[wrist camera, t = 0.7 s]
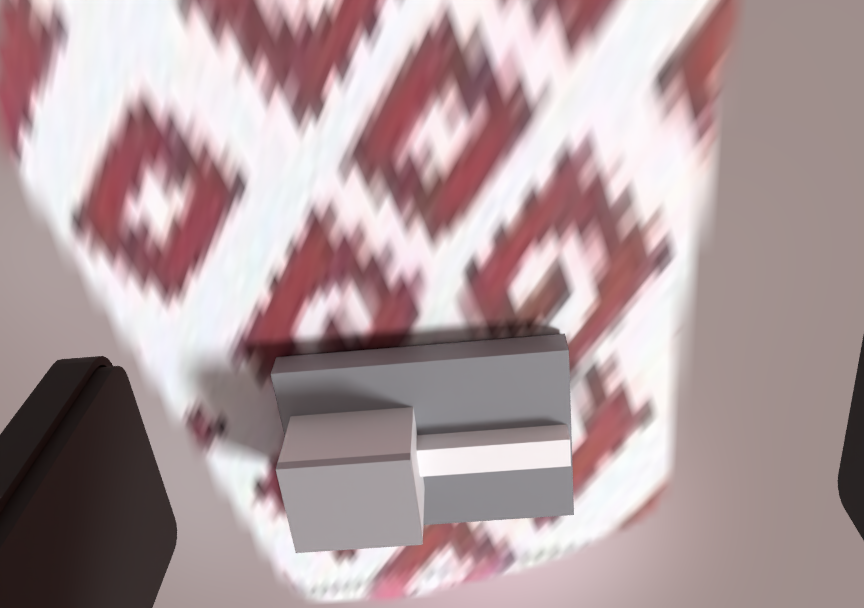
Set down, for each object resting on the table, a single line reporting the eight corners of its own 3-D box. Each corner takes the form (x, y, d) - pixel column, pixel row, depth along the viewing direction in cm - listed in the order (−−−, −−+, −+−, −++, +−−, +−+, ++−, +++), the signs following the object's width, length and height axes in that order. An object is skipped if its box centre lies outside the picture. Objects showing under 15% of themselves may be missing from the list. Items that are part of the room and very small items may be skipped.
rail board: (276, 357, 40) (252, 424, 36) (564, 333, 40) (581, 400, 35) (311, 512, 45) (295, 591, 40) (569, 495, 44) (585, 573, 39)
